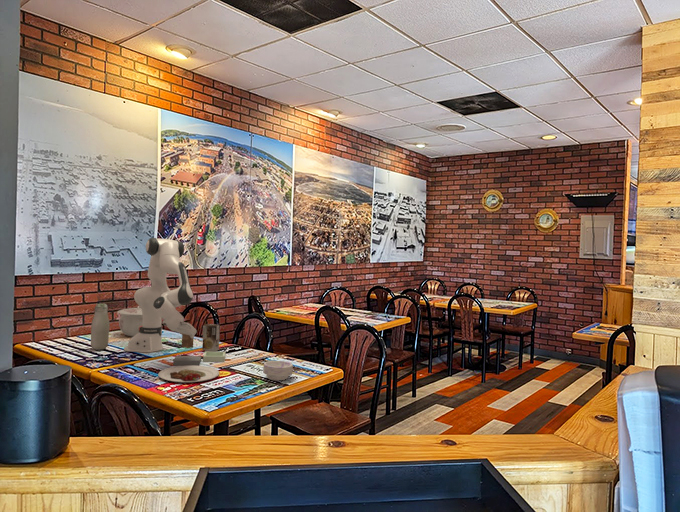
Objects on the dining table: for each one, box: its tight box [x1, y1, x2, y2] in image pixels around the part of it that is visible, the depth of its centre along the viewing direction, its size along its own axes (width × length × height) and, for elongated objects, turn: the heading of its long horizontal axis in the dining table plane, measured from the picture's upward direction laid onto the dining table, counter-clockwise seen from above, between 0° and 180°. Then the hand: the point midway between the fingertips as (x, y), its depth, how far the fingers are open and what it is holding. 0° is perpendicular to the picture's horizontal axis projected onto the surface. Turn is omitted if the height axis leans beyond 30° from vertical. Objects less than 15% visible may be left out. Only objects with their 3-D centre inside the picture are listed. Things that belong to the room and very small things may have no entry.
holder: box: [202, 351, 226, 363], centre depth 289 cm, size 12×12×3 cm
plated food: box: [157, 365, 220, 384], centre depth 253 cm, size 30×30×3 cm
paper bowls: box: [263, 360, 294, 382], centre depth 257 cm, size 15×15×8 cm
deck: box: [172, 355, 202, 367], centre depth 276 cm, size 14×10×3 cm
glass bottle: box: [90, 303, 111, 351], centre depth 297 cm, size 10×10×28 cm
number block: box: [181, 333, 195, 349], centre depth 276 cm, size 4×5×10 cm
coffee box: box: [201, 323, 221, 352], centre depth 311 cm, size 9×6×16 cm
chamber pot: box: [116, 305, 143, 338], centre depth 344 cm, size 28×28×21 cm
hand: (188, 336), depth 277 cm, fingers closed on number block, 5 cm apart
